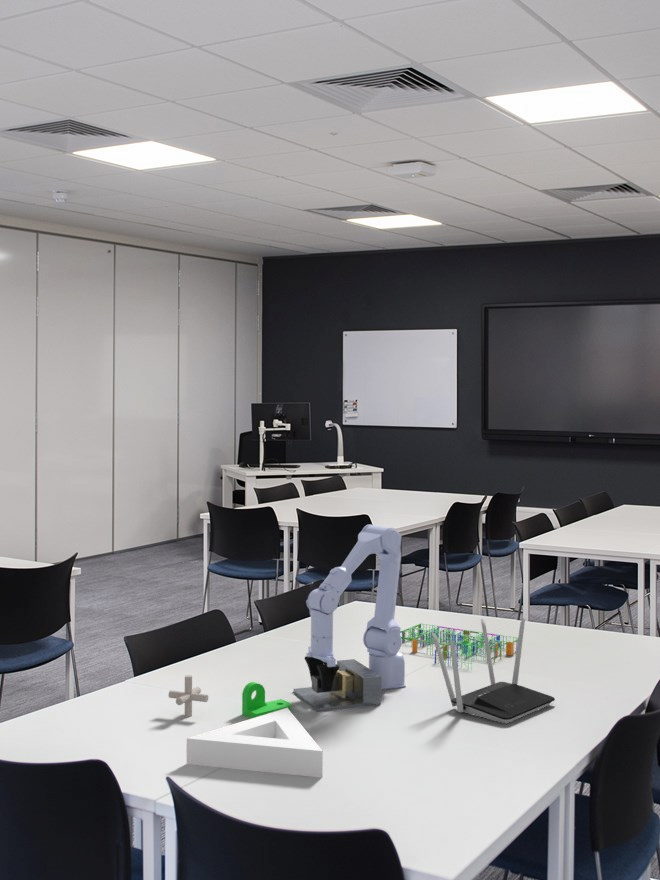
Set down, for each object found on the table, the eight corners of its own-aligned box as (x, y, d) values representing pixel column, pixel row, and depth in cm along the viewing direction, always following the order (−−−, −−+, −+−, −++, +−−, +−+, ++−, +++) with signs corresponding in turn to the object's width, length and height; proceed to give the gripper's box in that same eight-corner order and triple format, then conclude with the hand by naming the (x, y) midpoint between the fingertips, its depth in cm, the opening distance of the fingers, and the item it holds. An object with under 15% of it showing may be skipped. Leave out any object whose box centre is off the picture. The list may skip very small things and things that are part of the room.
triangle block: (322, 781, 207) (322, 751, 207) (197, 794, 199) (197, 763, 199) (287, 734, 236) (287, 707, 235) (176, 744, 228) (176, 716, 228)
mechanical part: (256, 722, 243) (256, 689, 243) (242, 715, 248) (242, 684, 247) (295, 712, 251) (295, 681, 250) (281, 706, 255) (281, 675, 255)
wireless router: (494, 732, 236) (496, 649, 235) (417, 711, 252) (418, 633, 251) (566, 702, 261) (567, 626, 260) (491, 684, 277) (492, 612, 276)
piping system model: (520, 652, 314) (521, 637, 313) (482, 673, 289) (482, 657, 289) (421, 637, 332) (421, 623, 332) (377, 655, 308) (377, 640, 307)
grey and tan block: (348, 686, 268) (348, 664, 267) (361, 695, 259) (361, 673, 259) (308, 690, 264) (308, 668, 263) (320, 700, 255) (320, 677, 255)
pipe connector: (215, 712, 249) (215, 673, 249) (197, 724, 240) (197, 683, 239) (179, 708, 253) (179, 669, 252) (160, 720, 243) (160, 679, 243)
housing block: (353, 686, 273) (354, 659, 273) (381, 705, 257) (381, 676, 256) (293, 692, 267) (293, 664, 267) (317, 712, 250) (317, 682, 250)
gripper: (297, 630, 265) (297, 681, 265) (317, 643, 251) (316, 696, 252) (322, 628, 267) (322, 679, 268) (343, 641, 254) (342, 694, 254)
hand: (321, 687), depth 260 cm, fingers open, 7 cm apart
